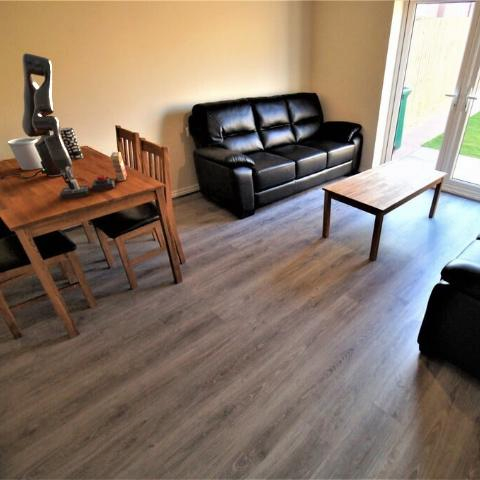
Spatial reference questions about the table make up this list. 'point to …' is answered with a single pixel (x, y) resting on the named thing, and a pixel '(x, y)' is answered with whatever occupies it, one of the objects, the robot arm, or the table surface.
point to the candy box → (118, 166)
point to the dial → (74, 185)
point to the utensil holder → (26, 153)
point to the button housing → (103, 184)
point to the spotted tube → (71, 143)
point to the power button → (101, 177)
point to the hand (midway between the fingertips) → (73, 187)
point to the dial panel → (75, 192)
